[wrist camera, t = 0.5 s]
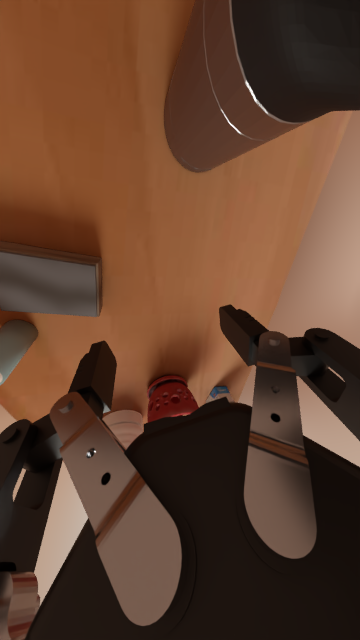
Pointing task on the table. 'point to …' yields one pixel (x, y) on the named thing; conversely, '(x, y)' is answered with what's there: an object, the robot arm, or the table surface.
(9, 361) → the ceramic tumbler
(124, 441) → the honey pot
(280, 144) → the table surface
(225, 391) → the ink box
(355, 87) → the robot arm
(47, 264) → the dark grey slab
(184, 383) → the plant pot
